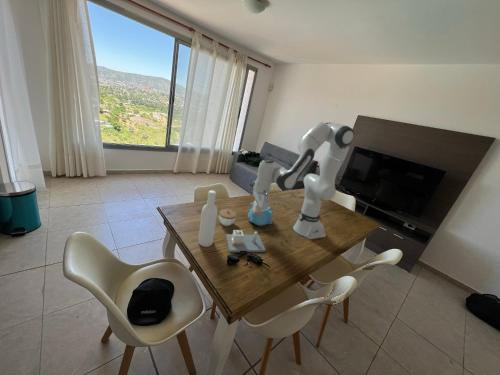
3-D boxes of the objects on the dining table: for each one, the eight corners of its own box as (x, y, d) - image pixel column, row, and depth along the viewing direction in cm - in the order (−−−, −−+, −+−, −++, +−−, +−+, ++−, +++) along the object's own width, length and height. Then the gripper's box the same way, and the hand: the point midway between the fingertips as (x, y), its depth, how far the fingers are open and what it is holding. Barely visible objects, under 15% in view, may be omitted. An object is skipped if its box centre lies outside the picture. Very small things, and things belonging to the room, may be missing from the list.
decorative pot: (271, 230, 134) (276, 212, 129) (246, 225, 133) (251, 207, 128) (268, 217, 150) (273, 200, 145) (247, 213, 148) (250, 196, 143)
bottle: (194, 242, 108) (200, 191, 97) (203, 235, 115) (210, 187, 104) (207, 249, 106) (214, 196, 95) (215, 241, 112) (223, 192, 102)
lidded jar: (214, 223, 129) (216, 210, 125) (224, 217, 138) (226, 204, 134) (228, 230, 125) (230, 217, 121) (237, 223, 134) (240, 211, 130)
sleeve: (260, 209, 126) (262, 200, 124) (263, 214, 121) (265, 205, 118) (251, 209, 124) (253, 200, 122) (253, 214, 119) (255, 205, 117)
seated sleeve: (240, 238, 117) (242, 229, 115) (242, 245, 112) (244, 236, 110) (230, 238, 116) (232, 229, 113) (232, 245, 110) (234, 236, 108)
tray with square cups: (258, 236, 125) (260, 225, 122) (265, 251, 112) (268, 240, 110) (225, 235, 119) (227, 224, 116) (229, 252, 107) (231, 240, 104)
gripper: (273, 195, 108) (268, 218, 113) (262, 181, 126) (258, 201, 131) (262, 194, 106) (257, 217, 111) (252, 180, 124) (249, 200, 130)
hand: (258, 208), depth 122 cm, fingers closed on sleeve, 5 cm apart
